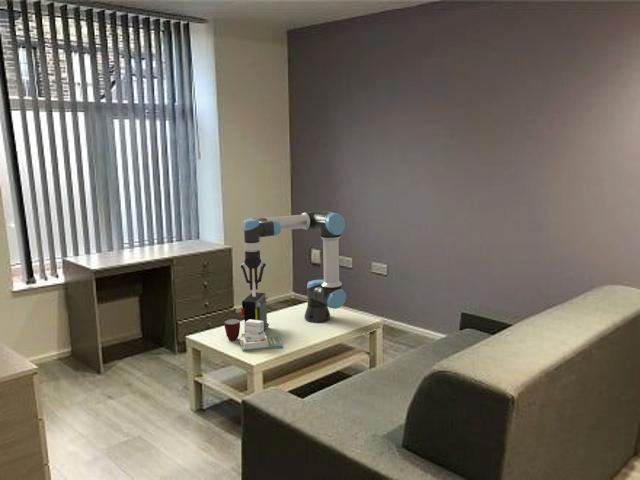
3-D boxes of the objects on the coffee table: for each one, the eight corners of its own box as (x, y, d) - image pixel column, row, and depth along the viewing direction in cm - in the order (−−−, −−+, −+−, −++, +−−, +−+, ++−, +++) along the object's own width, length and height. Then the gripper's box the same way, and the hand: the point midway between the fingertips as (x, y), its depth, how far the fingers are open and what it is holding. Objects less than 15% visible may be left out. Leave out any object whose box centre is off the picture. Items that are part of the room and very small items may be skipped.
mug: (219, 338, 283) (218, 320, 281) (231, 334, 289) (230, 317, 287) (231, 343, 276) (230, 325, 274) (243, 339, 282) (243, 321, 280)
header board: (277, 338, 283) (277, 330, 282) (282, 347, 270) (282, 339, 269) (239, 341, 278) (239, 334, 277) (242, 351, 265) (241, 343, 264)
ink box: (264, 342, 274) (264, 320, 272) (260, 345, 269) (259, 323, 267) (249, 340, 277) (248, 318, 275) (245, 343, 272) (244, 321, 270)
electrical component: (260, 338, 283) (258, 302, 279) (241, 337, 285) (240, 301, 281) (269, 327, 300) (268, 293, 296) (252, 326, 302) (251, 292, 298)
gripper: (264, 248, 269) (265, 292, 274) (238, 249, 266) (240, 294, 271) (266, 250, 262) (267, 296, 267) (239, 252, 259) (241, 299, 264)
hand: (254, 295), depth 269 cm, fingers closed
